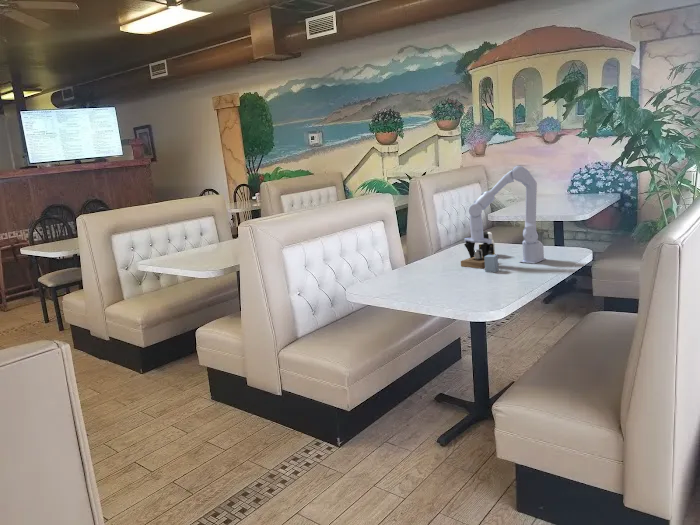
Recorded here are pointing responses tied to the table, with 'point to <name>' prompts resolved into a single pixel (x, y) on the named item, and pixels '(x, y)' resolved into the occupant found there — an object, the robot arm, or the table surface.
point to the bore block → (473, 263)
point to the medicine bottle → (492, 248)
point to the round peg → (478, 254)
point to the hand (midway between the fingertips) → (478, 257)
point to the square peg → (491, 263)
